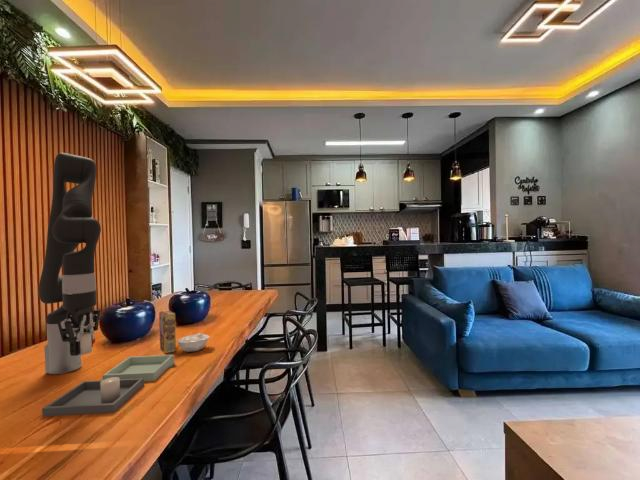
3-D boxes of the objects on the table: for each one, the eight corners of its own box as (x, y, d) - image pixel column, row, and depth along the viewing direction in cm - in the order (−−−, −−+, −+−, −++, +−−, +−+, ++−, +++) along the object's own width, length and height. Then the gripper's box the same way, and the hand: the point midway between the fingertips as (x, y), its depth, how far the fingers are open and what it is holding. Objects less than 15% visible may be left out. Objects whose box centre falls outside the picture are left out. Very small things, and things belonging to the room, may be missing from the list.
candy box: (177, 351, 131) (175, 313, 131) (165, 354, 128) (163, 315, 128) (170, 345, 138) (169, 309, 137) (159, 348, 135) (158, 311, 135)
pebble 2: (97, 403, 89) (96, 384, 89) (107, 394, 93) (106, 377, 93) (114, 402, 89) (113, 383, 89) (123, 394, 93) (122, 376, 93)
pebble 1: (67, 356, 88) (67, 337, 88) (79, 350, 93) (78, 332, 92) (84, 355, 88) (84, 336, 88) (95, 349, 93) (95, 331, 93)
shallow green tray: (102, 386, 101) (102, 375, 101) (129, 366, 116) (129, 356, 116) (154, 384, 102) (154, 372, 101) (174, 364, 117) (174, 354, 117)
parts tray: (42, 420, 83) (42, 408, 83) (84, 391, 98) (83, 381, 98) (114, 416, 83) (113, 404, 83) (144, 387, 99) (143, 378, 99)
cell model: (178, 348, 134) (177, 332, 134) (209, 344, 138) (208, 328, 138) (177, 357, 125) (176, 339, 124) (210, 352, 129) (209, 335, 129)
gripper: (83, 286, 97) (85, 343, 97) (44, 295, 83) (47, 362, 83) (109, 285, 97) (111, 342, 98) (75, 294, 83) (77, 361, 83)
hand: (81, 351), depth 90 cm, fingers closed on pebble 1, 4 cm apart
